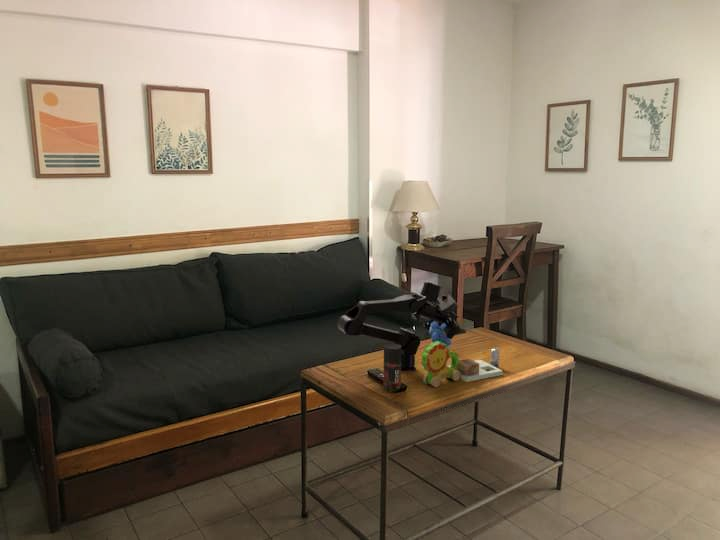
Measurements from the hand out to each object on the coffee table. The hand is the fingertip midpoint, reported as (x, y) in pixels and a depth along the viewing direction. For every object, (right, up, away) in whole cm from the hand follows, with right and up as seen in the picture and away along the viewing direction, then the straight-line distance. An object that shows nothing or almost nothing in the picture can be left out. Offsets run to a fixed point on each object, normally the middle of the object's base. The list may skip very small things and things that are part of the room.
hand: (461, 324), depth 225 cm
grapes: (-7, -12, +15) cm, 20 cm away
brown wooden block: (-1, -15, -16) cm, 22 cm away
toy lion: (-11, -19, -21) cm, 30 cm away
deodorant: (-28, -20, -27) cm, 43 cm away
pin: (+11, -16, -6) cm, 20 cm away
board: (+2, -17, -11) cm, 20 cm away
